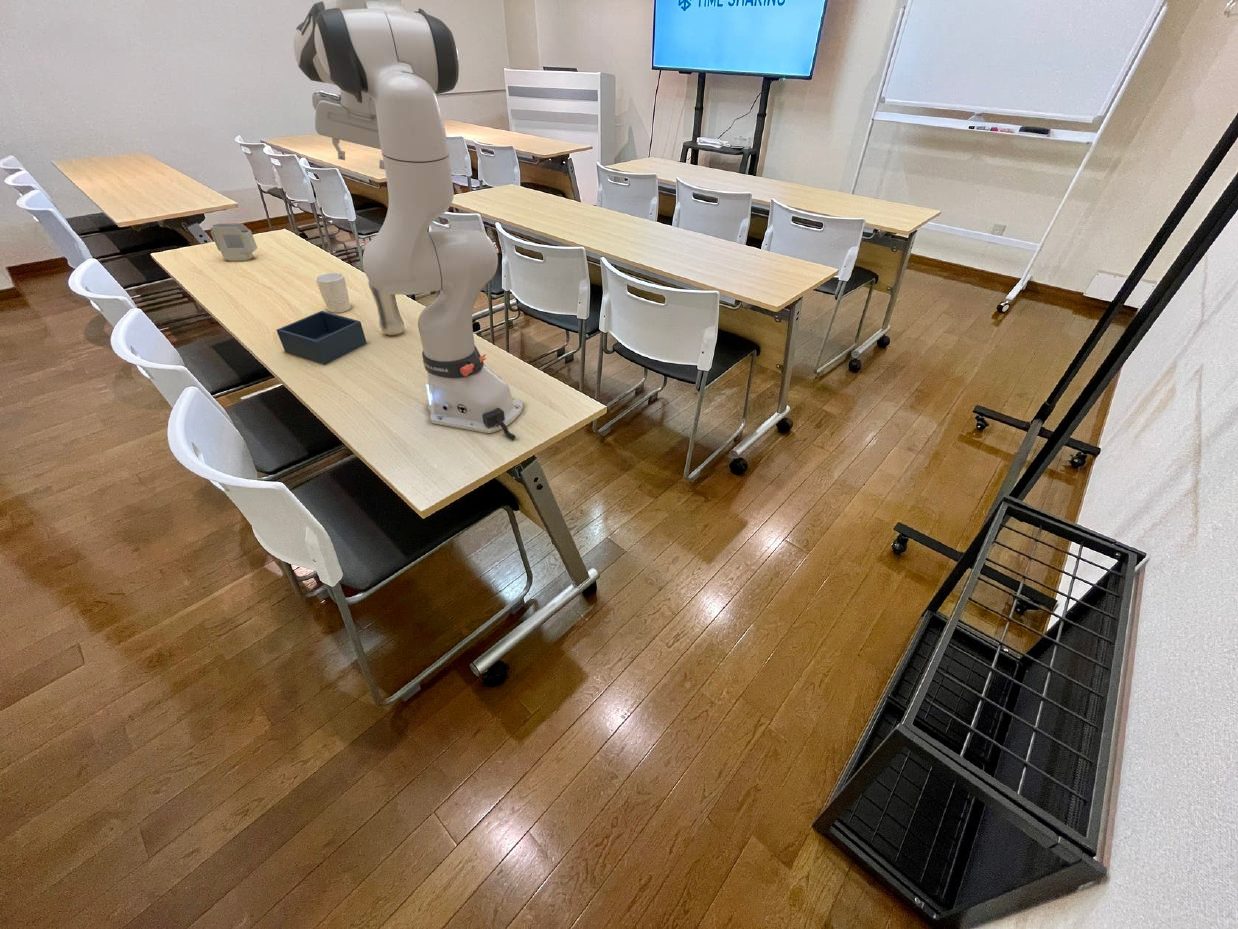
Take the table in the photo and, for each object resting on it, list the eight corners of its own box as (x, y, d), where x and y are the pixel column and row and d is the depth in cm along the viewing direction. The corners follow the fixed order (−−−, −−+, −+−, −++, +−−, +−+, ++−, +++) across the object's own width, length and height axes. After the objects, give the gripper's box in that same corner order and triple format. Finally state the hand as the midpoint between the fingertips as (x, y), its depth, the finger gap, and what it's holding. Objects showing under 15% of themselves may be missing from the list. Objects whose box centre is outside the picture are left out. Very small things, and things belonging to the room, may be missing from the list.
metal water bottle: (398, 338, 149) (381, 268, 137) (377, 336, 150) (358, 266, 138) (410, 329, 154) (394, 261, 142) (389, 327, 155) (371, 258, 143)
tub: (367, 343, 147) (360, 321, 142) (324, 364, 136) (316, 341, 132) (329, 332, 151) (321, 310, 147) (285, 352, 141) (275, 329, 136)
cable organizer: (256, 261, 194) (243, 227, 186) (219, 262, 192) (204, 227, 184) (262, 255, 199) (249, 222, 192) (226, 256, 197) (211, 222, 189)
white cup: (346, 301, 168) (337, 270, 162) (357, 309, 164) (348, 277, 158) (321, 307, 164) (311, 276, 158) (331, 315, 160) (321, 283, 153)
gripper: (309, 89, 118) (314, 156, 127) (406, 115, 126) (404, 176, 134) (313, 85, 123) (317, 150, 131) (406, 110, 131) (405, 170, 139)
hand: (362, 163), depth 133 cm, fingers open, 8 cm apart
